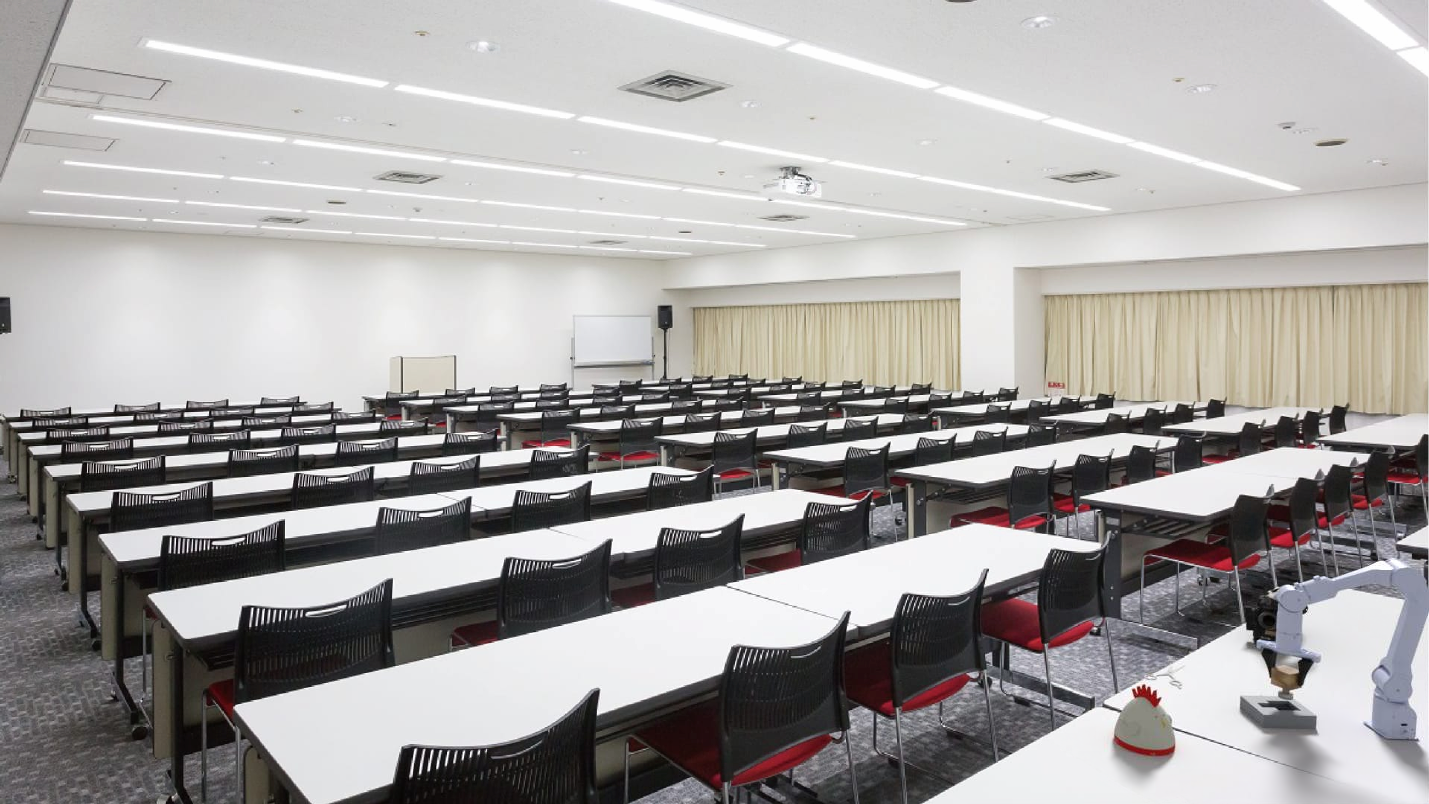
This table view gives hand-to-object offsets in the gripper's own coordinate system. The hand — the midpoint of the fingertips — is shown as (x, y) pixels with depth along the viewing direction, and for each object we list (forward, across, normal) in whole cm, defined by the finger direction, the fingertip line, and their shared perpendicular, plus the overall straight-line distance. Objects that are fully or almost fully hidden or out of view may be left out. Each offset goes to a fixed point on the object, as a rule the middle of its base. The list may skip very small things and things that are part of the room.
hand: (1286, 681), depth 240 cm
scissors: (+11, +33, -7) cm, 35 cm away
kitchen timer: (+10, +18, +42) cm, 47 cm away
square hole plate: (+10, +1, +2) cm, 10 cm away
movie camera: (+10, +22, -64) cm, 68 cm away
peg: (+4, 0, 0) cm, 4 cm away
